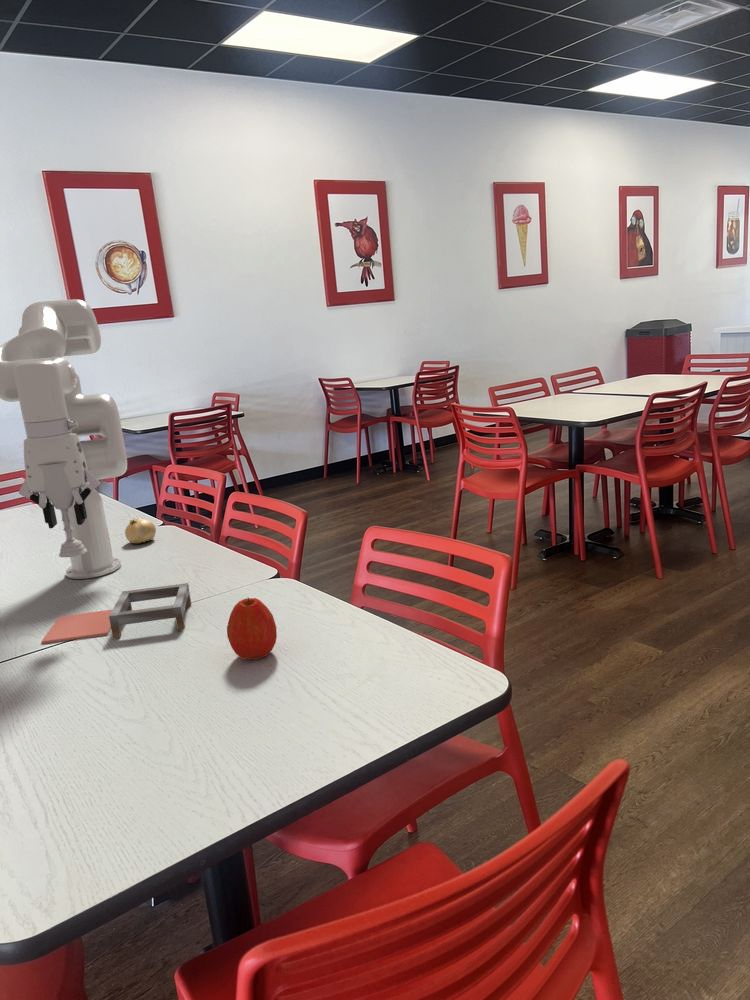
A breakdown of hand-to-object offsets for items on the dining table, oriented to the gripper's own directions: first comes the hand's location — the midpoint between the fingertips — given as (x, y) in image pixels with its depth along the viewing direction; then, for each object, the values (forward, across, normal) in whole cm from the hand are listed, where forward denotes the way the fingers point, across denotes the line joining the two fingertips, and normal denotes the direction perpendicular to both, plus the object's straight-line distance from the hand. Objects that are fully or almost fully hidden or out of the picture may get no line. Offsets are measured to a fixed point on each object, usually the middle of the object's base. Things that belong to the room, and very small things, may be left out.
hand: (67, 523), depth 135 cm
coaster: (+21, +1, 0) cm, 21 cm away
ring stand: (+21, -13, +3) cm, 25 cm away
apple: (+21, -33, +25) cm, 46 cm away
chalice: (+6, 0, 0) cm, 6 cm away
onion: (+22, -2, -57) cm, 61 cm away
